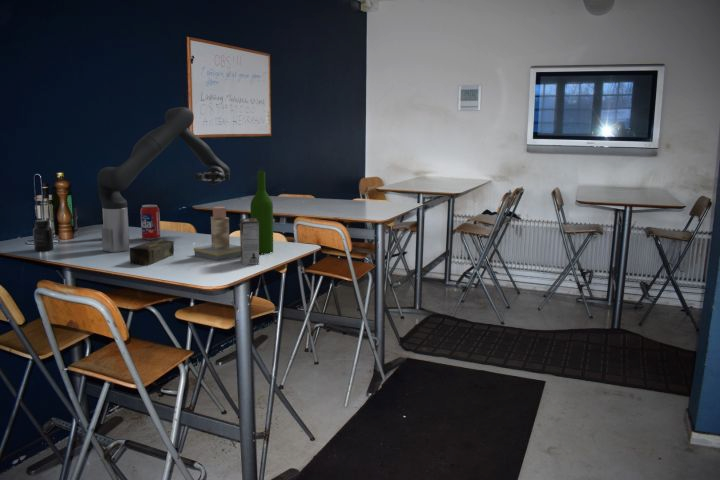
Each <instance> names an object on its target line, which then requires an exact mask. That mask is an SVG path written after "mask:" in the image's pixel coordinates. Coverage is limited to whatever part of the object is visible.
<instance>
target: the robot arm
mask: <svg viewBox="0 0 720 480" xmlns="http://www.w3.org/2000/svg"><path fill="white" fill-rule="evenodd" d="M194 117H195V116H194V112H193V111H192V109H190V108H189V107H185V106H179V107H174V108H170V109H168V110H167V111H166V112H165V114H164V121H165V123H163V124H161V125H160V126H158V127H157V128H155V129H152V130H150V131H149V132H147V133H146V134H144V136H143V137H141V138H140V139H139V140H137V142H136V143H135V145H134V146H133V147H132V148H133V149H132V151H131V154H130V157H128V159H127V160H125V161H124V162H123V163H122V164H120V165H119V166H116V167H114V166H106V167H103V168H101V169H100V170H99V172H98V174H97V189H98V196H99V197H98V199H99V201H100V203H101V207H102V220H103V221H102V222H103V225H104V227H103V226H102V227H101V241H102V244H101V245H102V251H104V252H109V253H117V252H125V251H126V252H127V251H130V248H131V247H130V245H131V244H130V234H129V232H130V230H129V215H128V213H129V212H128V202H127V200H126V199H125V198H124V197H123V196H122V195H121V192H122V191H124V190H126V189H127V188H128V187H129V186H130V185H131V184H132V183H133V182H134V180H135V179H136V178H137V176H138V175H139V174H140V173H141V172H142V171H143V170H144V169H145V168H146V167H148V165H150V163H151V162H152V161H153V160H154V159H156V158H157V157H158V156H159V155H160V154H161V153H162V152H163V151H164V150H165V149H166V148H167V147H168V146H169V145H170V144H171V143H172V142H173V141H174V140H175V139H176V138H177V137H179V138H180V140H182V141H183V142H184V143H185V144H186V145H187V147H189V148H190V150H191V151H192V152H193V153H194V155H195V156H196V157H197V159H198V160H199V161H200V163H201V164H202V165H203V167H209V168H208V169H206V171H205V172H202V173H201V172H198V173H194V180H195V181H197V180H199V181H205V182H207V183H209V184H210V185H218V184H220V183H221V182H222V181H225V180H226V181H230V176H231V175H230V174H231V170H230V167H229V166H228V165H227V164H226V163H225V162H224V161H222V160H221V159H220V158H218V156H217V155H215V153H214V152H213V150H212V149H211V147H210V146H209V145H208V144H207V142H205V141H203V140H202V139H201V138H200V137H198V136H197V135H196V134H195V133H194V132H193V131H192V130H191V128H190V127H191V126H192V124H193V123H194V119H195V118H194ZM210 166H212V167H210Z"/></svg>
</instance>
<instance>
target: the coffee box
mask: <svg viewBox="0 0 720 480" xmlns="http://www.w3.org/2000/svg"><path fill="white" fill-rule="evenodd" d="M239 237H240V239H239V240H240V242H239V246H241V256H240V262H241V264H242V266H246V265H245V264H254V265H257V264H256V263H259V264H260V254H259V222H258V220H257V218H251V217H250V218H247V217H246V218H239Z"/></svg>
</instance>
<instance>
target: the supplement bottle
mask: <svg viewBox="0 0 720 480" xmlns="http://www.w3.org/2000/svg"><path fill="white" fill-rule="evenodd" d="M49 225H50V221H49V220H48V219H38V220H37V219H36V220H35V221H34V228H33V229H32V237H33V247H34V251H35V252H40V251H41V252H50V251H49V250H51V251H53V250H54V237H53V236H54V235H53V234H54V233H53V228H52V227H51V226H49Z"/></svg>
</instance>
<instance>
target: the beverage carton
mask: <svg viewBox="0 0 720 480" xmlns="http://www.w3.org/2000/svg"><path fill="white" fill-rule="evenodd" d="M174 245H175V243H174V240H163V239H162V238H158V239H156V240H151V241H149V242H145V243H141V244H139V245H135V246H132V247H130V249H129V263H130V265H138V266H139V265H142V266H149V265H153V264H154V263H157V262H160V261H162V260H165V259H167V258H170V257H172V256H174V254H175V252H174V251H175V247H174Z"/></svg>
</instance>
